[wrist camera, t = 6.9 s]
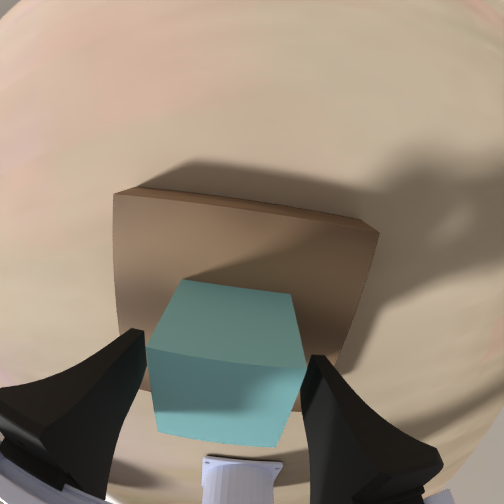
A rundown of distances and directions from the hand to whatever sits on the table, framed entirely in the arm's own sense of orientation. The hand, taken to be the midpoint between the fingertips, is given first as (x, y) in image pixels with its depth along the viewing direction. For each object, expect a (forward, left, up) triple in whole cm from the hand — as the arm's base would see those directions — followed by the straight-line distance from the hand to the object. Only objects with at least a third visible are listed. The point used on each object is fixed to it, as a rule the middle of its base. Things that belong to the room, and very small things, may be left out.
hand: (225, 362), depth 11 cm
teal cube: (0, 0, -2) cm, 2 cm away
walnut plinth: (0, 0, -5) cm, 5 cm away
